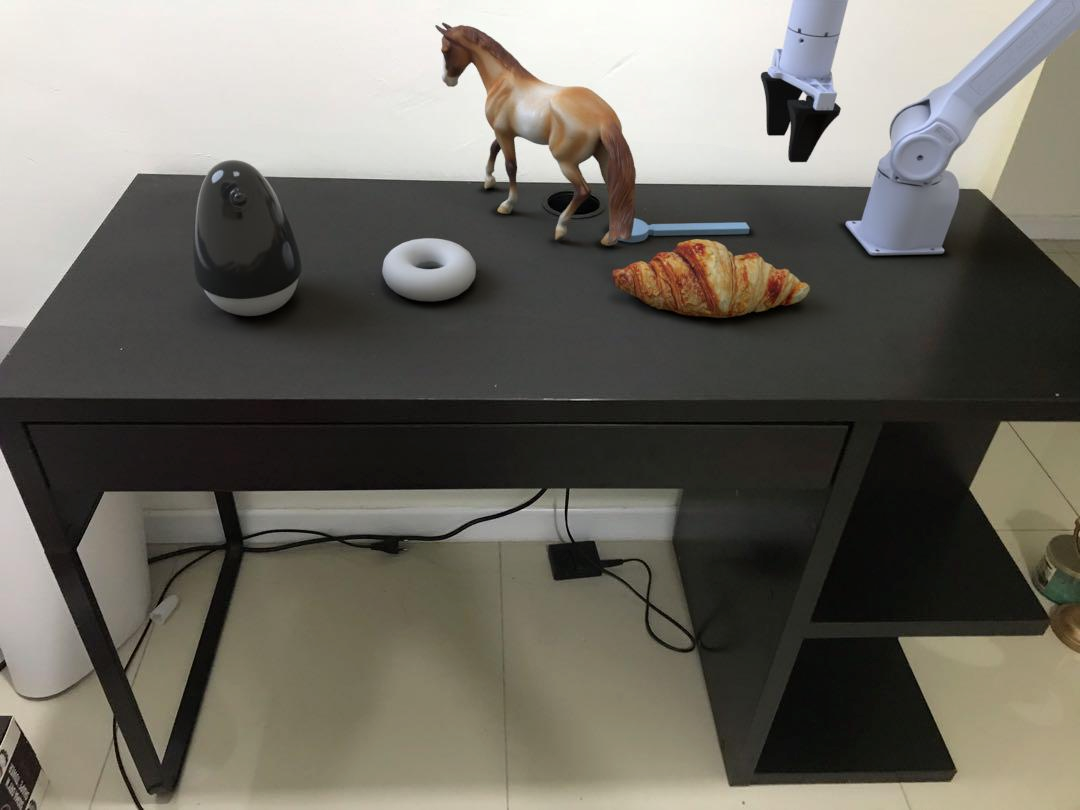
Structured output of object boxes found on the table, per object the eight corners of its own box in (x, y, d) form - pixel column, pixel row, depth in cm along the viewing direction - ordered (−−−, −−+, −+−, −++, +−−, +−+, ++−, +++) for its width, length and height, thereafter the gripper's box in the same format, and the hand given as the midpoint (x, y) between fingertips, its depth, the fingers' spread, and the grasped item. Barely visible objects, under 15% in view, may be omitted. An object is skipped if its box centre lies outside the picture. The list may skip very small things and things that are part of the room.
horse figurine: (434, 188, 116) (430, 20, 103) (479, 172, 120) (481, 9, 107) (617, 287, 99) (640, 101, 86) (662, 263, 104) (690, 84, 91)
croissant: (790, 315, 103) (797, 244, 101) (822, 325, 93) (831, 245, 91) (604, 307, 101) (609, 234, 100) (617, 315, 92) (622, 235, 90)
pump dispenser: (208, 338, 88) (177, 193, 78) (198, 284, 95) (168, 146, 86) (314, 321, 91) (296, 180, 82) (296, 270, 99) (278, 135, 89)
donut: (447, 318, 93) (492, 273, 100) (446, 290, 91) (492, 245, 98) (365, 292, 96) (414, 250, 103) (362, 264, 94) (412, 223, 101)
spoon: (741, 222, 113) (742, 214, 112) (752, 240, 109) (754, 232, 109) (606, 224, 111) (607, 217, 110) (613, 243, 107) (614, 235, 106)
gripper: (757, 9, 105) (735, 123, 113) (802, 50, 93) (774, 174, 102) (815, 10, 106) (789, 123, 114) (867, 50, 94) (834, 173, 103)
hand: (786, 147), depth 108 cm, fingers open, 7 cm apart
